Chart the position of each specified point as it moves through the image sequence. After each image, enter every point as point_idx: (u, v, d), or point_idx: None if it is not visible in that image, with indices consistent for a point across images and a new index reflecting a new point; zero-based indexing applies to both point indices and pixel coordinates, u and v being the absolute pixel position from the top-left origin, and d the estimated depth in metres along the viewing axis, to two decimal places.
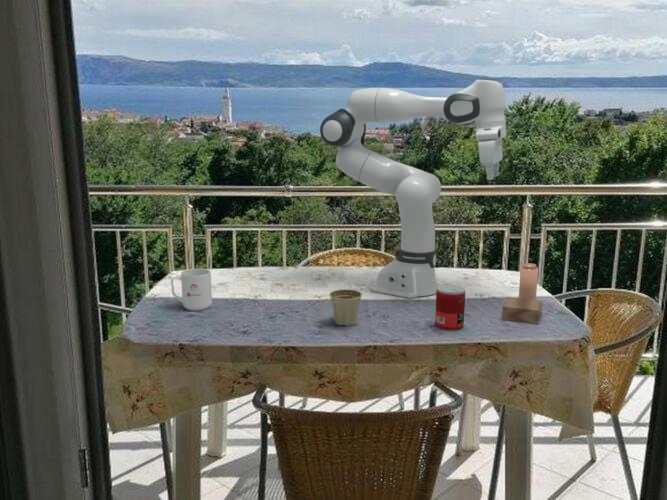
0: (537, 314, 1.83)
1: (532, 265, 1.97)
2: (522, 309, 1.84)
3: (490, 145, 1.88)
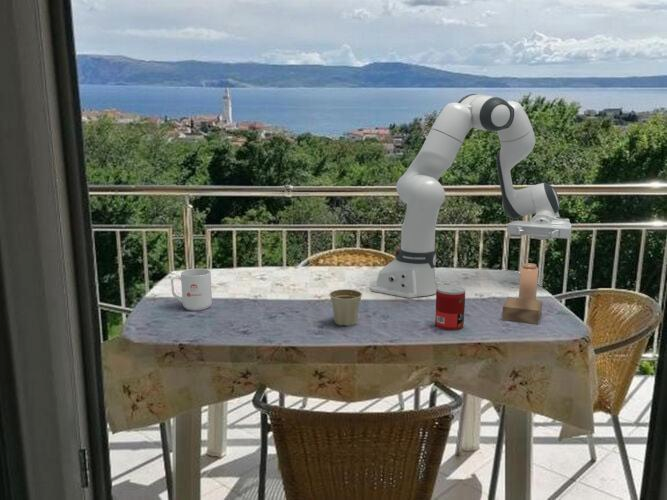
0: (537, 314, 1.83)
1: (532, 265, 1.97)
2: (522, 309, 1.84)
3: None
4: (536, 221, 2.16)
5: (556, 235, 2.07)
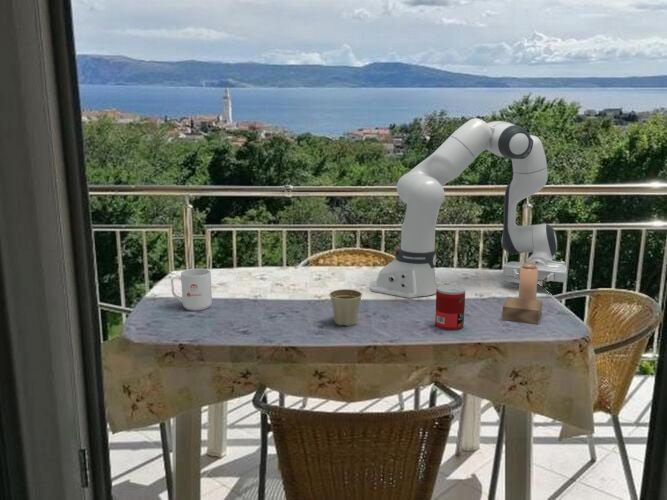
0: (537, 314, 1.83)
1: (532, 265, 1.97)
2: (522, 309, 1.84)
3: None
4: None
5: (551, 279, 2.08)
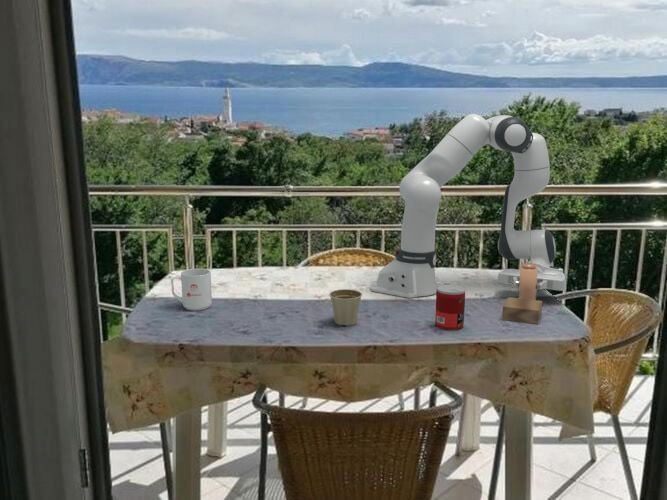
0: (537, 314, 1.83)
1: (532, 265, 1.97)
2: (522, 309, 1.84)
3: None
4: None
5: (544, 286, 1.99)
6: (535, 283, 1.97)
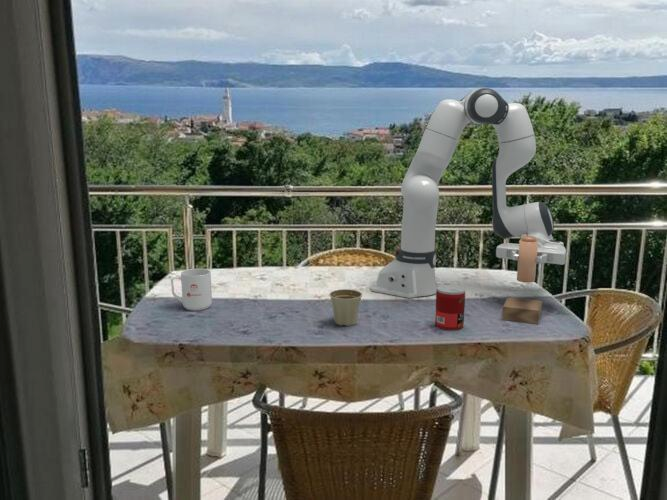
0: (537, 314, 1.83)
1: (532, 237, 1.87)
2: (522, 309, 1.84)
3: None
4: None
5: (544, 260, 1.89)
6: (535, 257, 1.87)
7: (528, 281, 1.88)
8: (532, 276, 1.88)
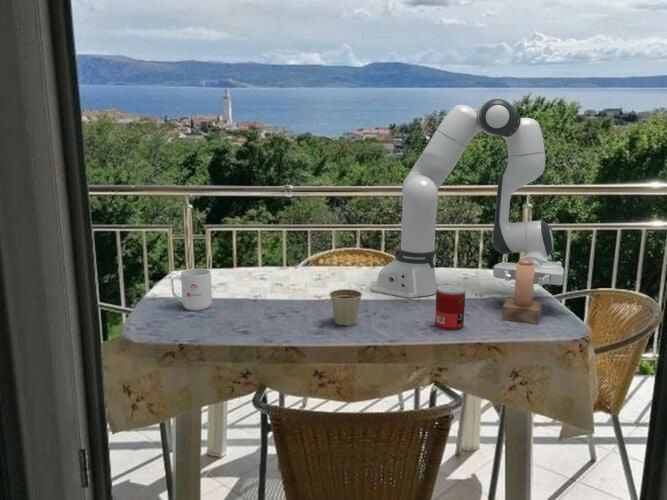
0: (537, 314, 1.83)
1: (529, 261, 1.85)
2: (522, 309, 1.84)
3: None
4: None
5: (547, 281, 1.86)
6: (532, 280, 1.85)
7: (525, 305, 1.86)
8: (529, 300, 1.86)
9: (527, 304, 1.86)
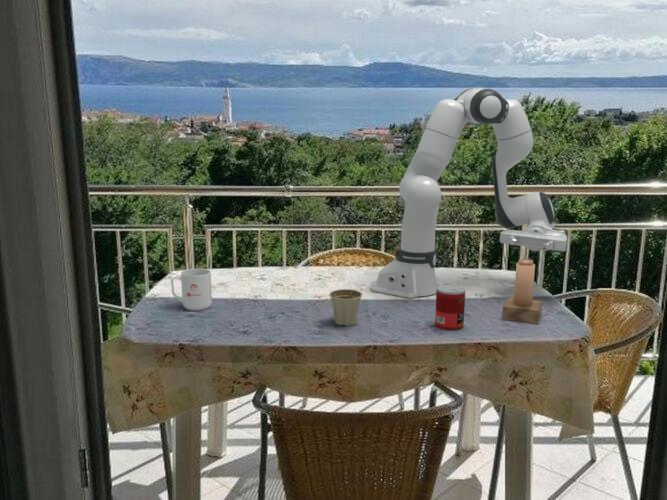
0: (537, 314, 1.83)
1: (528, 261, 1.85)
2: (522, 309, 1.84)
3: None
4: (530, 231, 2.06)
5: (550, 247, 1.96)
6: (532, 280, 1.85)
7: (525, 305, 1.86)
8: (529, 300, 1.86)
9: (527, 304, 1.86)
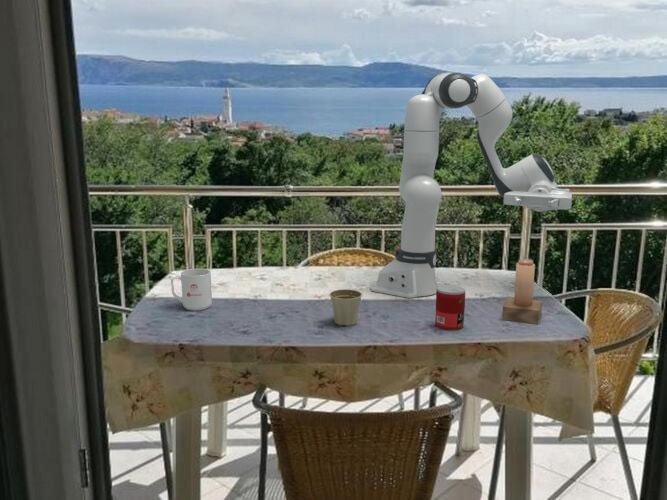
0: (537, 314, 1.83)
1: (528, 261, 1.85)
2: (522, 309, 1.84)
3: None
4: (534, 191, 2.03)
5: (555, 205, 1.93)
6: (532, 280, 1.85)
7: (525, 305, 1.86)
8: (529, 300, 1.86)
9: (527, 304, 1.86)
